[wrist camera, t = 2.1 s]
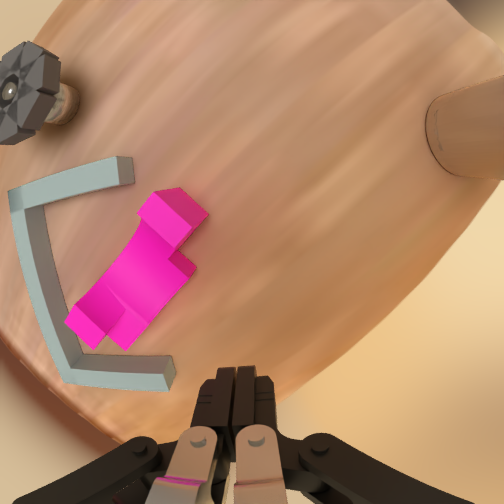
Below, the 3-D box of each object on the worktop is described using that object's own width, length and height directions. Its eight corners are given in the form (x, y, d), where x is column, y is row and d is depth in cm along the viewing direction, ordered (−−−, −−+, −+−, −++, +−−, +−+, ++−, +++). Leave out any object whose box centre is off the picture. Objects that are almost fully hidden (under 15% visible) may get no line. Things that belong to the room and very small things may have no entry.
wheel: (63, 35, 16) (48, 26, 14) (59, 124, 19) (41, 120, 16) (-1, 73, 17) (-16, 69, 14) (-4, 154, 19) (-21, 154, 17)
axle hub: (79, 81, 24) (26, 59, 15) (80, 117, 25) (22, 104, 16) (50, 94, 24) (-5, 79, 15) (50, 129, 25) (-8, 122, 16)
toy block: (140, 330, 31) (114, 367, 24) (99, 292, 30) (64, 322, 23) (228, 231, 28) (218, 251, 21) (180, 187, 27) (153, 191, 20)
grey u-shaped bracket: (131, 157, 26) (116, 156, 23) (176, 373, 32) (169, 391, 29) (26, 188, 27) (7, 191, 23) (75, 368, 33) (63, 382, 29)
